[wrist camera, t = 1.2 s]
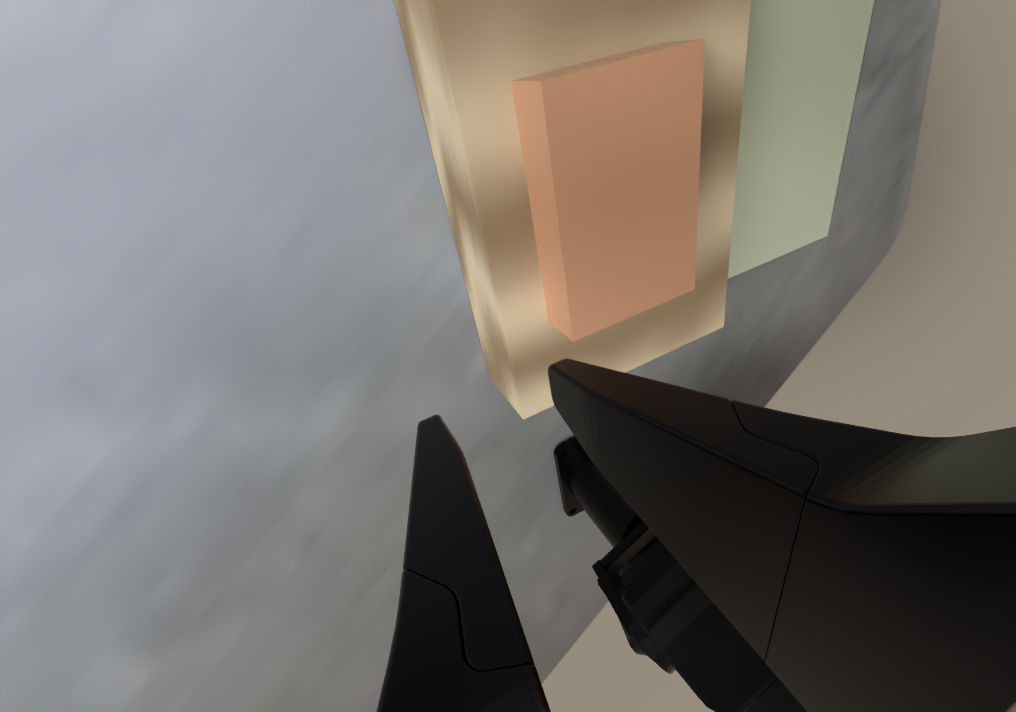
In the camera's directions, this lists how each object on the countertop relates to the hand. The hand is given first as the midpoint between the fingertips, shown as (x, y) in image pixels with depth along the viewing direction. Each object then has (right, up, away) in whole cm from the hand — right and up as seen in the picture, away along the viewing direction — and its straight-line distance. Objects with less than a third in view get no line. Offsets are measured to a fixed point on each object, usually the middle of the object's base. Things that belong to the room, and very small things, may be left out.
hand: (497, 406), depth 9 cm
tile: (+4, +7, +9) cm, 12 cm away
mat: (+14, +14, +16) cm, 26 cm away
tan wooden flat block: (+3, +9, +13) cm, 16 cm away
